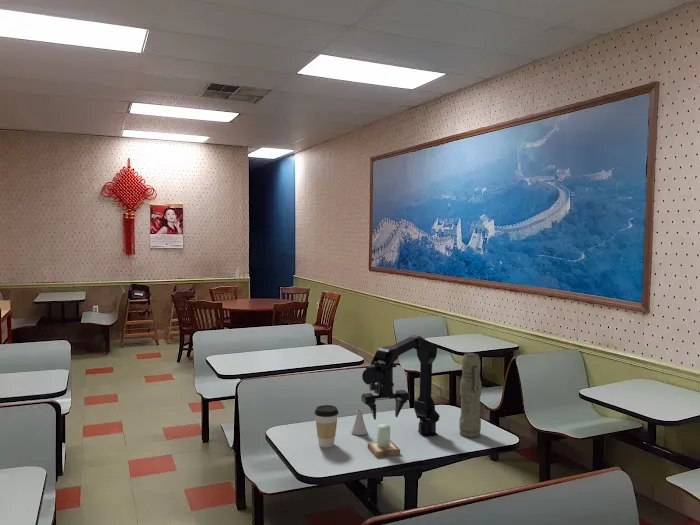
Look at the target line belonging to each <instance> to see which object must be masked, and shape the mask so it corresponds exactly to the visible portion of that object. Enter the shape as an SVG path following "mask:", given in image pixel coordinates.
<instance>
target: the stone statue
mask: <svg viewBox="0 0 700 525" xmlns="http://www.w3.org/2000/svg"><path fill="white" fill-rule="evenodd" d="M461 372H462V374H461V379H460V382H459V394H460V402H461V403H460V417H459V423H458V424H459V435H460V436H461V437H464V438H467V439H476V438H477V439H478V438H480V437H481V428H482V418H481V417H480V416H481V414H480V413H481V410H480V408H481V395H482V381H481V359H480V356H479V354H477V353H476V352H466V353H464V354H463V356H462V360H461Z"/></svg>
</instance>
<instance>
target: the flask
mask: <svg viewBox="0 0 700 525" xmlns="http://www.w3.org/2000/svg"><path fill="white" fill-rule="evenodd" d="M355 412H356V415H355V419H354V423H353V426H352V429H351V430H350V432H351V433H350V434H352V435H354V436H364V435H367V434H368V430H367V427H366V424H365V419H364V417H363V416H364V415H363V412H364V410H363V409H361V408H357V409H356V410H355Z"/></svg>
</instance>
